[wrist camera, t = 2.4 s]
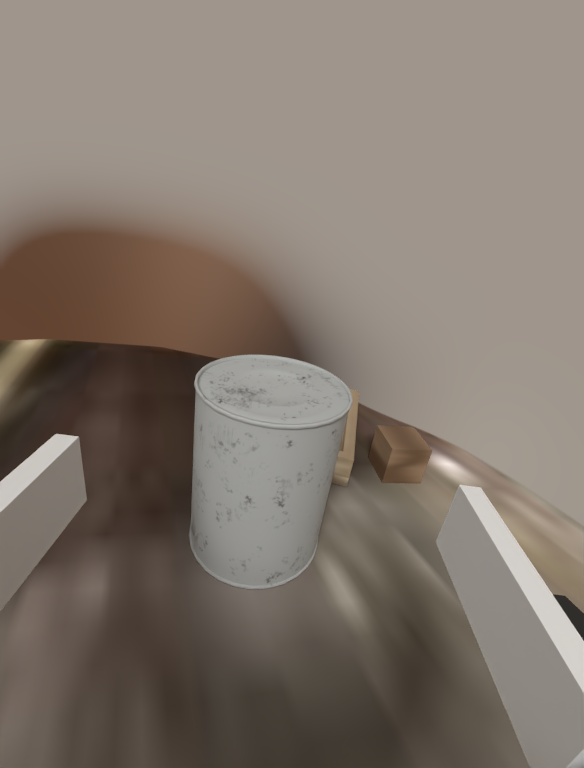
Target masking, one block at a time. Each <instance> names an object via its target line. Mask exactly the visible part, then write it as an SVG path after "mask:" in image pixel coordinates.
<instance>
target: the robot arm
mask: <svg viewBox="0 0 584 768" xmlns="http://www.w3.org/2000/svg"><path fill="white" fill-rule="evenodd" d="M86 500H87V497H86V489H85V481H84V473H83V465H82V457H81V449H80V441H79V437H77V436H69V435H61V434H55V435H54V436H53V437H52V438H50V439H49V440H48V441H47V442H46V443H45V444H44V445H42V446H41V447H40V448H39V449H38V450H37V451H35V452H34V453H33V454H32V455H31V456H30V457H28V458H27V459H26V460H25V461H24V462H23V463H21V464H20V465H19V466H18V467H17V468H16V469H15V470H13V471H12V472H11V473H10V474H9V475H8V476H6V477H5V478H4V479H3V480H2V481H1V482H0V612H1V610H2V609H3V608H4V607H5V605H6V604H7V603H8V601H9V600H10V599H11V597H12V596H13V595H14V594H15V592H16V591H17V590H18V588H19V587H20V586H21V585H22V583H23V582H24V581H25V579H26V578H27V577H28V575H29V574H30V573H31V572H32V570H33V569H34V568H35V566H36V565H37V564H38V563H39V561H40V560H41V559H42V557H43V556H44V555H45V553H46V552H47V551H48V550H49V548H50V547H51V546H52V544H53V543H54V542H55V541H56V539H57V538H58V537H59V535H60V534H61V533H62V531H63V530H64V529H65V528H66V526H67V525H68V524H69V522H70V521H71V520H72V519H73V517H74V516H75V515H76V513H77V512H78V511H79V509H80V508H81V507H82V506H83V504H84V503H85V502H86ZM436 544H437V546H438V549H439V551H440V553H441V556H442V558H443V561H444V563H445V565H446V568H447V570H448V573H449V575H450V577H451V580H452V582H453V585H454V587H455V589H456V592H457V594H458V597H459V599H460V601H461V604H462V606H463V609H464V611H465V613H466V616H467V618H468V620H469V623H470V625H471V628H472V630H473V632H474V635H475V637H476V640H477V642H478V644H479V647H480V649H481V652H482V654H483V656H484V659H485V661H486V664H487V666H488V668H489V671H490V673H491V676H492V678H493V680H494V683H495V685H496V687H497V690H498V692H499V695H500V697H501V699H502V702H503V704H504V707H505V709H506V711H507V714H508V716H509V719H510V721H511V723H512V726H513V728H514V731H515V733H516V735H517V738H518V740H519V743H520V745H521V747H522V750H523V752H524V755H525V757H526V759H527V762H528V764H529V766H530V768H584V613H582V612H581V611H580V610H579V609H578V608H577V607H576V606H575V605H574V604H573V603H572V602H571V601H570V600H569V599H568V598H567V597H565V596H561V595H553V594H552V593H551V592H550V590H549V589H548V587H547V586H546V584H545V583H544V581H543V580H542V578H541V577H540V575H539V574H538V572H537V571H536V569H535V568H534V566H533V565H532V563H531V562H530V560H529V559H528V557H527V556H526V554H525V553H524V551H523V550H522V548H521V547H520V545H519V544H518V542H517V541H516V539H515V538H514V536H513V535H512V533H511V532H510V531H509V529H508V528H507V526H506V525H505V523H504V522H503V520H502V519H501V517H500V516H499V514H498V513H497V511H496V510H495V508H494V507H493V505H492V504H491V502H490V501H489V499H488V498H487V496H486V495H485V493H484V492H483V490H482V489H481V488H480V487H472V486H464V485H459V487H458V489H457V491H456V494H455V496H454V499H453V501H452V504H451V506H450V509H449V511H448V514H447V516H446V518H445V521H444V523H443V526H442V528H441V531H440V533H439V536H438V538H437V541H436Z"/></svg>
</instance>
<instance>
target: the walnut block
mask: <svg viewBox="0 0 584 768" xmlns="http://www.w3.org/2000/svg"><path fill="white" fill-rule="evenodd" d="M431 453H432V449H431V448H430V447H429V446H428V444H427V443H426V442H425V441H424V439H423V438H422V437H421V436H420V435H419V433H418V432H417V431H416V430H415V428H414V427H401V426H380V425H377V427H376V431H375V435H374V438H373V442H372V445H371V449H370V452H369V456H368V458H369V459H370V461H371V463H372V465H373V467H374V469H375V471H376V473H377V474H378V476H379V478H380V480H381V482H382V483H421V480H422V477H423V474H424V472H425V469H426V466H427V464H428V461H429V458H430V456H431Z"/></svg>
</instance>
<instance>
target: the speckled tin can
mask: <svg viewBox="0 0 584 768" xmlns="http://www.w3.org/2000/svg"><path fill="white" fill-rule="evenodd" d="M194 386H195V390H196V397H195V425H194V452H193V479H192V507H191V525H190V532H189V539H190V545H191V549H192V552H193V554H194V556H195V558H196V560H197V561H198V563H199V564H200V565H201V566H202V567H203V568H204V570H205V571H206V572H207V573H209V574H210V575H212V576H213V577H215V578H216V579H217V580H219V581H221V582H224V583H226V584H229V585H231V586H233V587H239V588H244V589H250V590H251V589H269V588H272V587H276V586H280V585H283V584H285V583H287V582H289V581H291V580H293V579H295V578H296V577H297V576H299V575H300V574H301V573H302V572H303V571H304V570H305V569H307V567H308V566H309V564H310V563H311V561H312V560H313V558H314V555H315V552H316V549H317V546H318V536H319V532H320V528H321V523H322V519H323V515H324V511H325V507H326V503H327V499H328V494H329V490H330V486H331V482H332V478H333V474H334V470H335V465H336V461H337V457H338V453H339V449H340V445H341V441H342V436H343V432H344V428H345V424H346V420H347V416H348V412H349V410H350V408H351V405H352V402H353V401H352V394H351V392H350V390H349V388H348V387H347V385H346V384H345V383H344V382H342V381H341V380H340V379H339V378H338V377H336V376H335V375H333V374H332V373H330V372H328V371H326V370H324V369H322V368H320V367H318V366H315V365H312V364H309V363H306V362H303V361H299V360H295V359H291V358H286V357H279V356H271V355H238V356H231V357H226V358H221V359H219V360H216V361H213V362H210V363H209V364H207V365H206V366H204V367H202V368H201V370H200V371H199V372H198V373H197V374H196V378H195V382H194Z"/></svg>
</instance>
